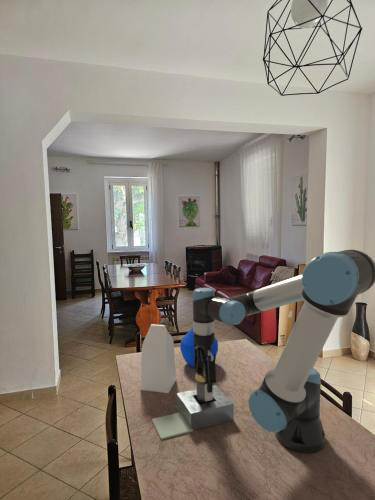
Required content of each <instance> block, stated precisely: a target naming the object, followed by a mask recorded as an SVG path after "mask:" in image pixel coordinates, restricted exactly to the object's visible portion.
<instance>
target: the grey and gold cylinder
mask: <svg viewBox="0 0 375 500" xmlns="http://www.w3.org/2000/svg"><path fill="white" fill-rule="evenodd" d="M194 380H195V381H196V389H197V402H198V404H199V405H201V404H206V403H210V402H212V400H210V401H205V384H204V382H206V378H205V371H202V372H198V373H196V372H195V375H194Z"/></svg>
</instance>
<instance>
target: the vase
mask: <svg viewBox="0 0 375 500" xmlns="http://www.w3.org/2000/svg"><path fill="white" fill-rule="evenodd" d="M193 333H194V331H193V326H192V328H191V329H190V330H189V331H187V333H186V334H185V335H184V336H183V337H181V341H180V345H179V348H180V352H181V355H182V357H183V359H184V361H185V363H186V364H187V365H189V366H190V367H192V368H194V342H193ZM218 351H219V343H218V339H217V338H216V337H215V342H214V344H213V345H212V346H211V352H212V355H214V354H215V356H216V357H217V355H218ZM206 360H207V359H206ZM203 369H204V367H203Z"/></svg>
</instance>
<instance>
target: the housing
mask: <svg viewBox="0 0 375 500" xmlns="http://www.w3.org/2000/svg"><path fill="white" fill-rule="evenodd" d="M234 408H235V407H234V402H233V401H232V400H231V399H230V398H229V397H228V396H227V394H225V393H224V392H223V391H222V390H221V389H220V388H219V387H218V386H217V385H216V384H215V385H214V384H213V400H212V402H210V403H206V404H201V405H199V404H198V402H197V388H195V389H190V390H187V391H186V390H185V391H182V392H177V393H176V409H177V412H178V413H179V412H180V413H181V414H182V416H183V417H184V419H185V421H186V422H187V424H188V425H189V427H190V428H191V429H193V431H196V430H200V429H204V428H208V427H211V426H212V427H213V426H215V425H220V424H223V423H226V422H231V421H233V420H235V419H234V418H235V417H234V416H235V415H234V412H235V411H234V410H235V409H234Z"/></svg>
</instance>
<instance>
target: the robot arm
mask: <svg viewBox="0 0 375 500" xmlns="http://www.w3.org/2000/svg"><path fill="white" fill-rule="evenodd" d="M374 284H375V261H374V260H373V258H372V257H371V256H369V255H368V254H367V253H366V252H363V251H362V250H361V251H360V250H358V249H357V250H356V249H345V250H344V249H343V250H340V251H328V252H325V253H322V254H320V255H317V256H315V257H313V258H312V259H311V260H309V262H307V264H306V265H305V267H304V268H303V270H302V273H300V274H298V275H296V276H293V277H290V278H288V279H283V280H281V281H278V282H276V283H273V284H269V285H267V286H264V287H261V288H259V289H255V290H252V291H248V292H247V293H242V294H238V295H235V296H229V297H226V298H225V297H219V296H216V294H215V290H214V289H212V288H210V287H198V288H195V289H193V292H192V316H193V318H192V327H193V331H194V333H193V342H194V367H193V369H194V370H195V374H196V373H198V372H202V371H205V378H206V382H204V384H205V401H210V400H213V385H214V384H217V376H216V375H217V372H216V369H217V368H216V357H217V355H216V356H215V354H214V355H212V352H211V346H212V345H213V344H214V342H215V338H216V336H215V324H216V321H219V322H222V323H225V324H227V325H233V326H236V325H239V324H241V323H242V322H243V321H244V318H245V317H248V316H252V315H255V314H259V313H262V312H265V311H268V310H272V309H277V308H280V307H284V306H288V305H290V304H291V305H292V304H294V303H295V304H296V303H298V302H301V301H303V304H302V307H301V309H300V311H299V313H298V315H297V317H296V321H295V322H294V325H293V327H292V329H291V331H290V333H289V336H288V338H287V340H286V343H285V345H284V347H283V349H282V352H281V354H280V356H279V358H278V360H277V363H276V364H275V367H274V368H273V369H270V370H268V371H267V372H266V374H265V376H264V378H263V380H262V382H261V385H260V387H258V389H254V390H253V391H252V393H251V394H250V395H249V397H248V408H249V411H250V412H251V416H252V417H253V419H254V421H255V422H256V424H257V425H258V426H260V427H261V428H262V429H263V430H264V431H267V432H269V433H274V434H275V437H276V439H277V441H278V442H279V443H280V444H281V445H282V446H283V447H285V448H287V449H289V450H292V451H294V452H298V453H302V454H303V453H304V454H312V453H313V454H314V453H317V452H319V451H321V450H322V449H324V448H325V445H326V434H325V430H324V426H323V423H322V420H321V417H320V416H321V414H320V413H321V387H322V381H321V374H320V372H319V371H318V370H317V369H316V368H314V366H315V364H316V363H317V361H318V359H319V357H320V355H321V353H322V351H323V348H324V347H325V345H326V342H327V341H328V338H329V337H330V334H331V332H332V331H333V329H334V327H335V324H336V322H337V320H338V318H343V317H346V316H348V314H349V312H350V310H351V308H352V306H353V305H354V303H355V300H356V298H357V297H358V295H361V294H364V293H365V292H368V291H369V290H371V288H372V287H373V286H374ZM206 359H207V360H206ZM203 367H204V368H203Z"/></svg>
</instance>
